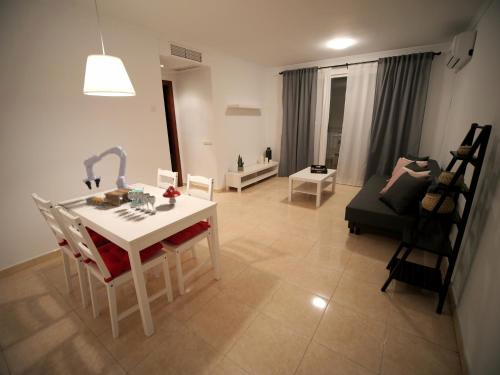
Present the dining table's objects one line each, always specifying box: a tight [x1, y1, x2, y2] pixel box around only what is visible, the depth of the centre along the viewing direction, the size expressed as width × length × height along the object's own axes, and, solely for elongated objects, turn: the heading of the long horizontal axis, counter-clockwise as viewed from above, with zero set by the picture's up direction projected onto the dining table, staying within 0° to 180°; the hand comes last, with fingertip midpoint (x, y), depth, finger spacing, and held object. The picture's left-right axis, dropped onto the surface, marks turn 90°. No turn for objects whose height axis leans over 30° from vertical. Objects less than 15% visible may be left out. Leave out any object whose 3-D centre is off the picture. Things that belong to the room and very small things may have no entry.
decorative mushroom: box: [162, 185, 182, 205], centre depth 182 cm, size 14×14×15 cm
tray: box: [85, 195, 107, 207], centre depth 186 cm, size 6×18×6 cm, turn 68°
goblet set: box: [128, 191, 158, 214], centre depth 170 cm, size 28×6×13 cm, turn 62°
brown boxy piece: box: [103, 188, 136, 207], centre depth 187 cm, size 17×14×10 cm
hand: (94, 188), depth 198 cm, fingers open, 6 cm apart
